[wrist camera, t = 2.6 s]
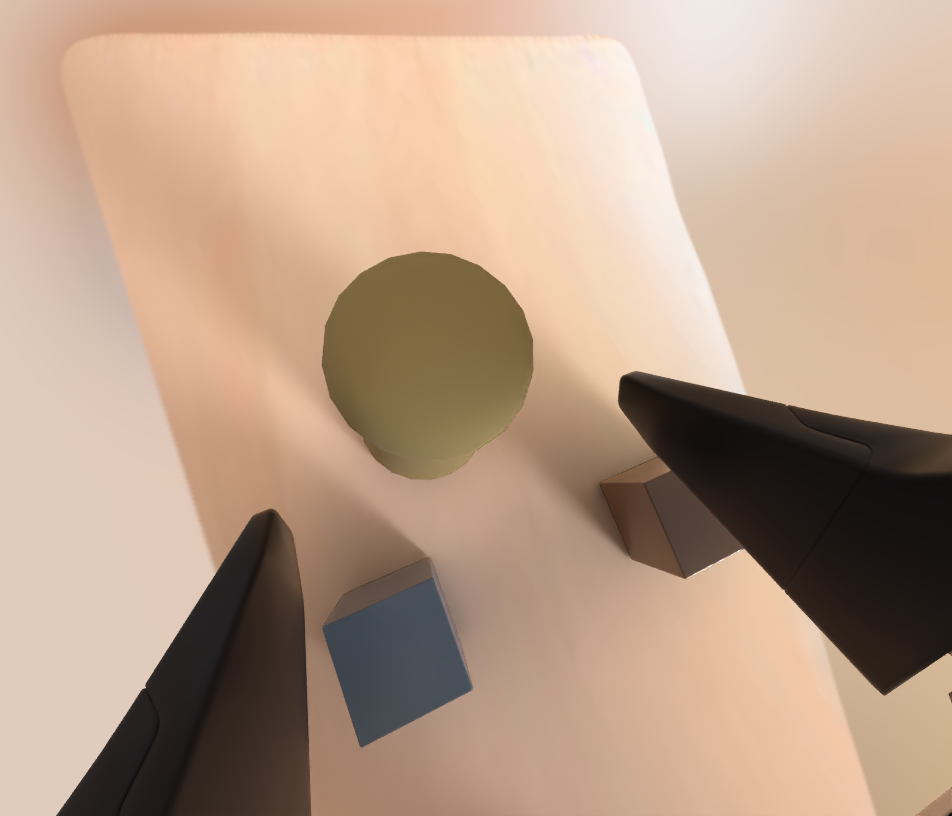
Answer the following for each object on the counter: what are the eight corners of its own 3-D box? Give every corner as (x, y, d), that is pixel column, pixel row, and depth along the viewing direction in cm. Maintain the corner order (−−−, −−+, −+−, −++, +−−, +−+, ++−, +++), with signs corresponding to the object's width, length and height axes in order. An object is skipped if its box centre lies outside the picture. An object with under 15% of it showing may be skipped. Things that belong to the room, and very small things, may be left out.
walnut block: (697, 527, 20) (764, 538, 16) (631, 559, 19) (685, 579, 15) (664, 453, 20) (722, 447, 17) (598, 482, 20) (643, 482, 16)
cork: (449, 502, 18) (494, 533, 8) (334, 441, 18) (217, 385, 7) (506, 393, 20) (611, 291, 9) (400, 335, 20) (381, 159, 9)
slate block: (461, 643, 17) (473, 690, 14) (373, 686, 17) (360, 749, 13) (429, 556, 18) (433, 577, 14) (342, 593, 17) (321, 627, 13)
